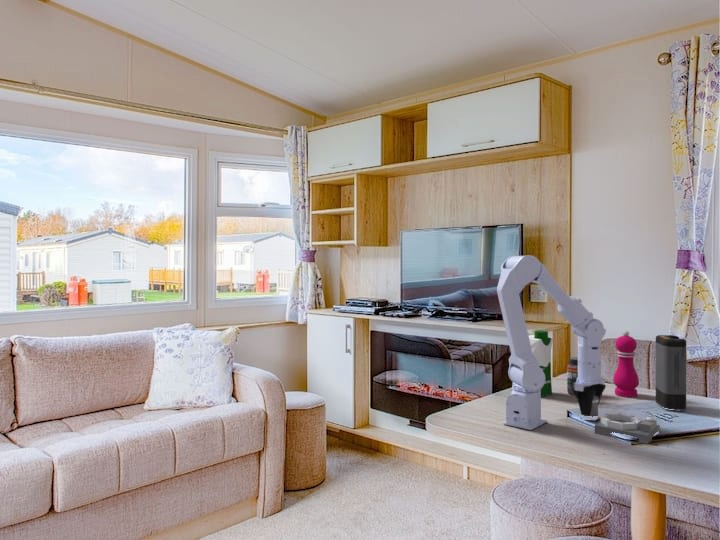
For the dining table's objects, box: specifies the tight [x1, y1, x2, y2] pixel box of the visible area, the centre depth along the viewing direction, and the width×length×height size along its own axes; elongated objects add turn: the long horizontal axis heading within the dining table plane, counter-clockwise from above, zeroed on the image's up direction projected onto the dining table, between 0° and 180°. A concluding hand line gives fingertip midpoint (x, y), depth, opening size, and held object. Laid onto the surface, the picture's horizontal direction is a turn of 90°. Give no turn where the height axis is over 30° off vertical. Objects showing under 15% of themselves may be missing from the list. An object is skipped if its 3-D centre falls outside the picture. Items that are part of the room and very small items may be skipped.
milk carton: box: [528, 330, 554, 398], centre depth 175 cm, size 9×9×20 cm
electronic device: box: [655, 334, 687, 412], centre depth 158 cm, size 9×6×20 cm, turn 168°
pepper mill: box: [612, 330, 640, 398], centre depth 172 cm, size 7×7×20 cm
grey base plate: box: [594, 412, 661, 445], centre depth 136 cm, size 10×12×4 cm
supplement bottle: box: [566, 356, 578, 396], centre depth 174 cm, size 6×6×11 cm
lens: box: [580, 395, 600, 417], centre depth 148 cm, size 5×5×6 cm
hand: (589, 412), depth 148 cm, fingers closed on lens, 4 cm apart
